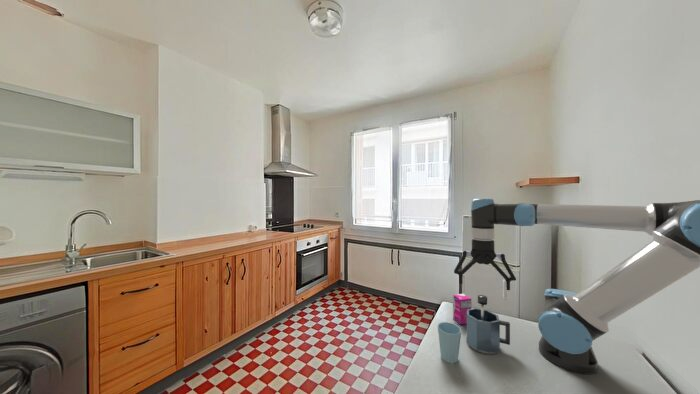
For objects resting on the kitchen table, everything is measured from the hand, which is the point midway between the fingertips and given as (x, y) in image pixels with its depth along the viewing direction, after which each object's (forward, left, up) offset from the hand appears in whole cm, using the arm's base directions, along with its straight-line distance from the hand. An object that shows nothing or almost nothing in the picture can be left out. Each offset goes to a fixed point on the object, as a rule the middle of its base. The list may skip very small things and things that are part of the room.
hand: (483, 295), depth 88 cm
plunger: (0, 0, -17) cm, 17 cm away
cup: (+11, +13, -19) cm, 26 cm away
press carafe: (-1, 0, -19) cm, 19 cm away
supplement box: (+7, -16, -19) cm, 26 cm away
